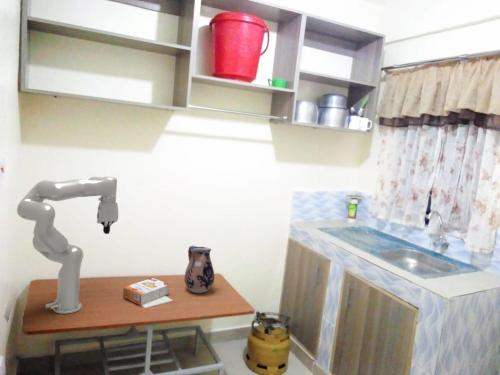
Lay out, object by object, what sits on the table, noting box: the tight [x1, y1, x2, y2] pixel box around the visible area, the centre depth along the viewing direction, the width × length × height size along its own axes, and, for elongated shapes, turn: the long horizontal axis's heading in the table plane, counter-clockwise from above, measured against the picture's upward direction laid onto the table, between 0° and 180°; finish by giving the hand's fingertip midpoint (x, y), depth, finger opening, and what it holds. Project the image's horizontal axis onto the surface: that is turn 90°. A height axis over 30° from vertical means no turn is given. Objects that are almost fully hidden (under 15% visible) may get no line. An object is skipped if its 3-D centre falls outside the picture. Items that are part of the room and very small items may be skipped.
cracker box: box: [122, 277, 171, 306], centre depth 201 cm, size 14×6×21 cm
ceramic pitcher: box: [184, 245, 215, 294], centre depth 217 cm, size 18×21×25 cm
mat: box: [140, 295, 173, 310], centre depth 200 cm, size 16×19×1 cm
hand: (106, 233), depth 199 cm, fingers closed
